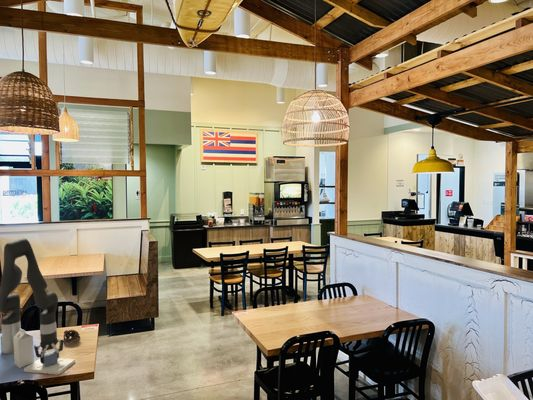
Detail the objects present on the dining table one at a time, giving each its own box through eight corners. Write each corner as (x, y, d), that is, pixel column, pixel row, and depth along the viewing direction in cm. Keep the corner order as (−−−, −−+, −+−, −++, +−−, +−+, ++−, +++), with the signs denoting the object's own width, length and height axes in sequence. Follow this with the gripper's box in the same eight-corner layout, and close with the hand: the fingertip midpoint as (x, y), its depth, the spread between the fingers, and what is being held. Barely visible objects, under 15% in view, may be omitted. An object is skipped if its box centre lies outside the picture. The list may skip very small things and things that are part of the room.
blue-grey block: (44, 366, 199) (44, 356, 199) (42, 362, 204) (41, 352, 203) (57, 362, 203) (57, 353, 203) (54, 358, 207) (54, 349, 207)
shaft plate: (24, 371, 199) (23, 362, 198) (42, 359, 211) (41, 351, 211) (58, 374, 196) (58, 365, 195) (75, 362, 208) (74, 353, 208)
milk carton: (29, 359, 212) (27, 325, 211) (34, 363, 207) (32, 329, 206) (14, 364, 206) (12, 329, 205) (19, 368, 202) (17, 333, 201)
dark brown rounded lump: (84, 339, 237) (81, 331, 232) (72, 351, 230) (68, 343, 226) (71, 331, 242) (68, 323, 237) (58, 343, 235) (54, 335, 230)
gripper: (34, 336, 194) (35, 368, 196) (65, 329, 204) (66, 359, 205) (31, 332, 200) (32, 363, 201) (61, 324, 210) (62, 354, 211)
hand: (49, 361), depth 203 cm, fingers closed on blue-grey block, 6 cm apart
